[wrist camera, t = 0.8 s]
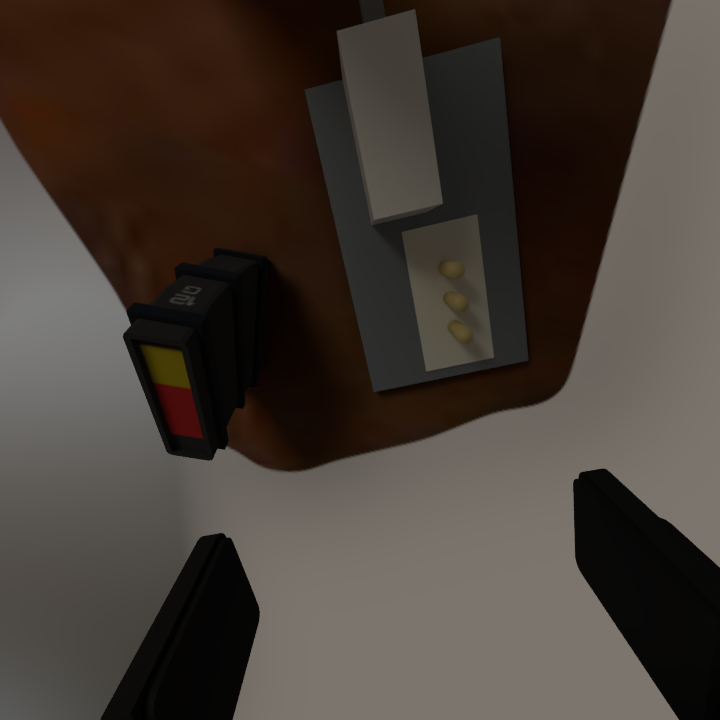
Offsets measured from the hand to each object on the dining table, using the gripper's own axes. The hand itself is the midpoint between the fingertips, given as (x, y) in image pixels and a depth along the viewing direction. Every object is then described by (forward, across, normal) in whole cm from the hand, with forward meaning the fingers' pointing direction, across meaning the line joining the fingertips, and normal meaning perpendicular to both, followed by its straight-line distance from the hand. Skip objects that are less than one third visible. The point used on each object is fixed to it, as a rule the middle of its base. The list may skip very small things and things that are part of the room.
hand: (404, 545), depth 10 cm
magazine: (+24, +11, -3) cm, 27 cm away
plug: (+23, -4, -17) cm, 29 cm away
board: (+24, -6, -7) cm, 26 cm away
